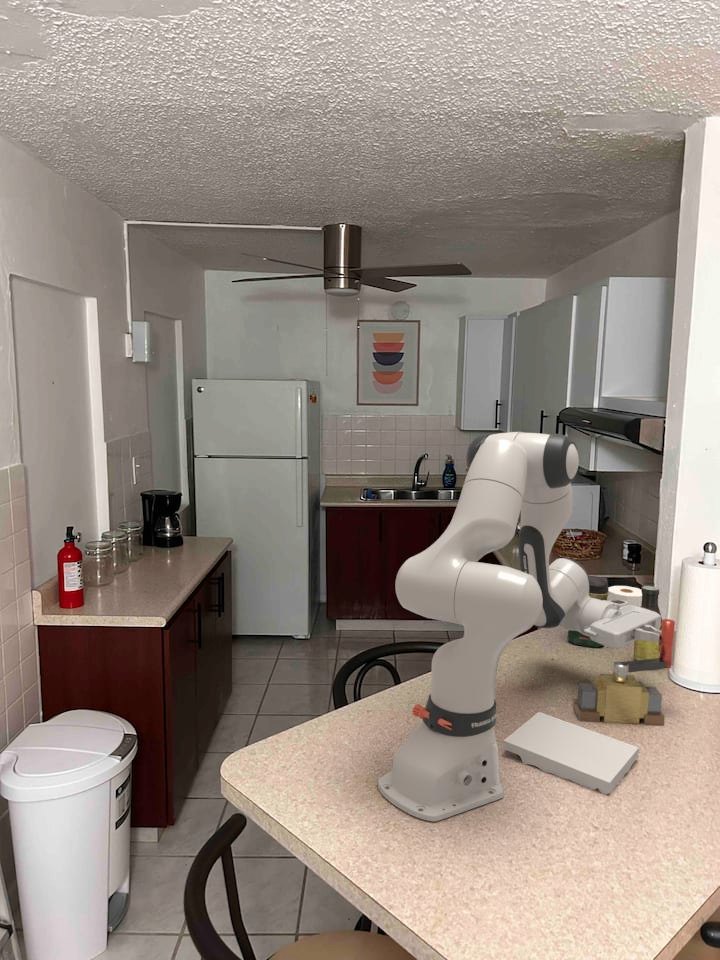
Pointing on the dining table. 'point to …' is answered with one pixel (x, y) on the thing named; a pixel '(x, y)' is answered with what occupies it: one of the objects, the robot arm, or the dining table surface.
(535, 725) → the light grey flat slab
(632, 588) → the toilet paper
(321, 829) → the dining table surface
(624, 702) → the ball valve
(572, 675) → the dining table surface
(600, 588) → the coffee jar
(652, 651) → the sauce bottle
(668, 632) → the valve lever
